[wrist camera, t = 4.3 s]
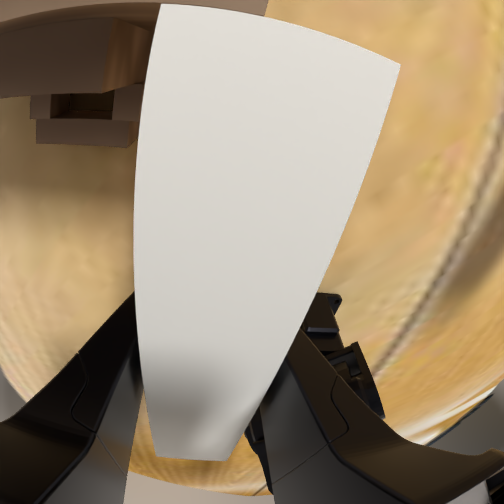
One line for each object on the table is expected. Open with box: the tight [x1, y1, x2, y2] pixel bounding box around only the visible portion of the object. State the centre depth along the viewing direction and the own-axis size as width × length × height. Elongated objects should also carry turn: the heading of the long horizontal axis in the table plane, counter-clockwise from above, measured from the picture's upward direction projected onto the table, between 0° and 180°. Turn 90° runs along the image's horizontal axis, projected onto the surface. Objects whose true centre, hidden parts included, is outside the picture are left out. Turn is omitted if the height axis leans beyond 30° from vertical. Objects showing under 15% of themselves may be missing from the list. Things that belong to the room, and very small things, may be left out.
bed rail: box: [134, 4, 401, 461], centre depth 9 cm, size 14×3×5 cm, turn 168°
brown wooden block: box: [0, 0, 268, 148], centre depth 10 cm, size 8×16×10 cm, turn 78°
